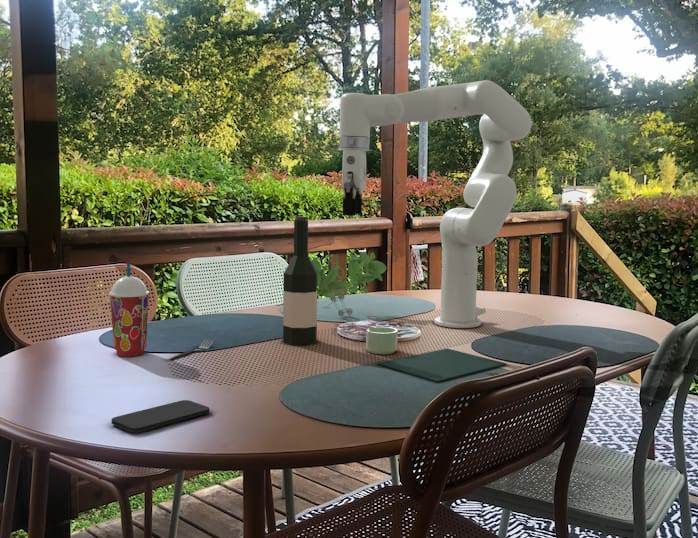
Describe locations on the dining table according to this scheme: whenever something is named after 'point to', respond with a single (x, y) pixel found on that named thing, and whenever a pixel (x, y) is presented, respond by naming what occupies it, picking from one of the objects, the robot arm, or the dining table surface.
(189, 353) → the fork
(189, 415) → the phone
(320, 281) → the plant cuttings
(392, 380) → the dining table surface
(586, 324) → the dining table surface
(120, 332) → the smoothie
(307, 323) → the wine bottle
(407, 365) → the placemat
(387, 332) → the bowl
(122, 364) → the dining table surface
